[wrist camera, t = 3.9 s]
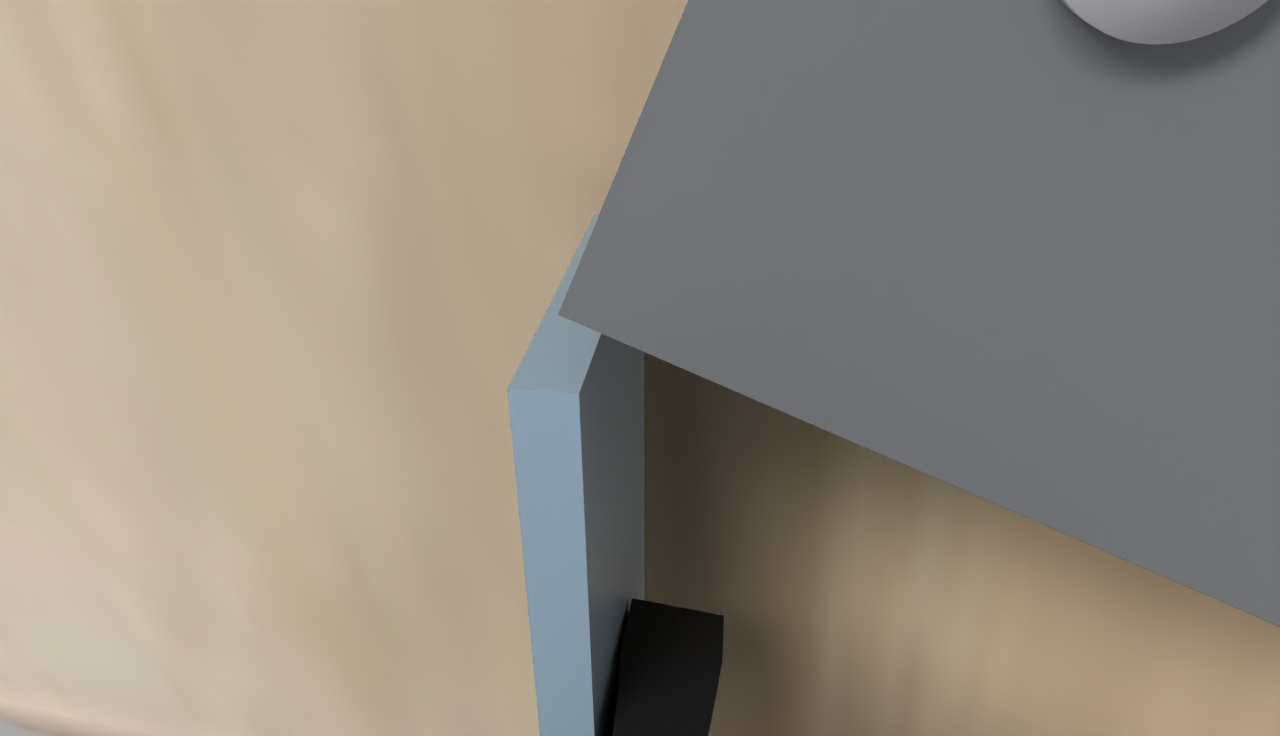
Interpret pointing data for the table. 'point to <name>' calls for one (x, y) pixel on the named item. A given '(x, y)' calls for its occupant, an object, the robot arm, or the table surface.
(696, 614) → the robot arm
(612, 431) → the door
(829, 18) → the camera body
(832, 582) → the table surface
